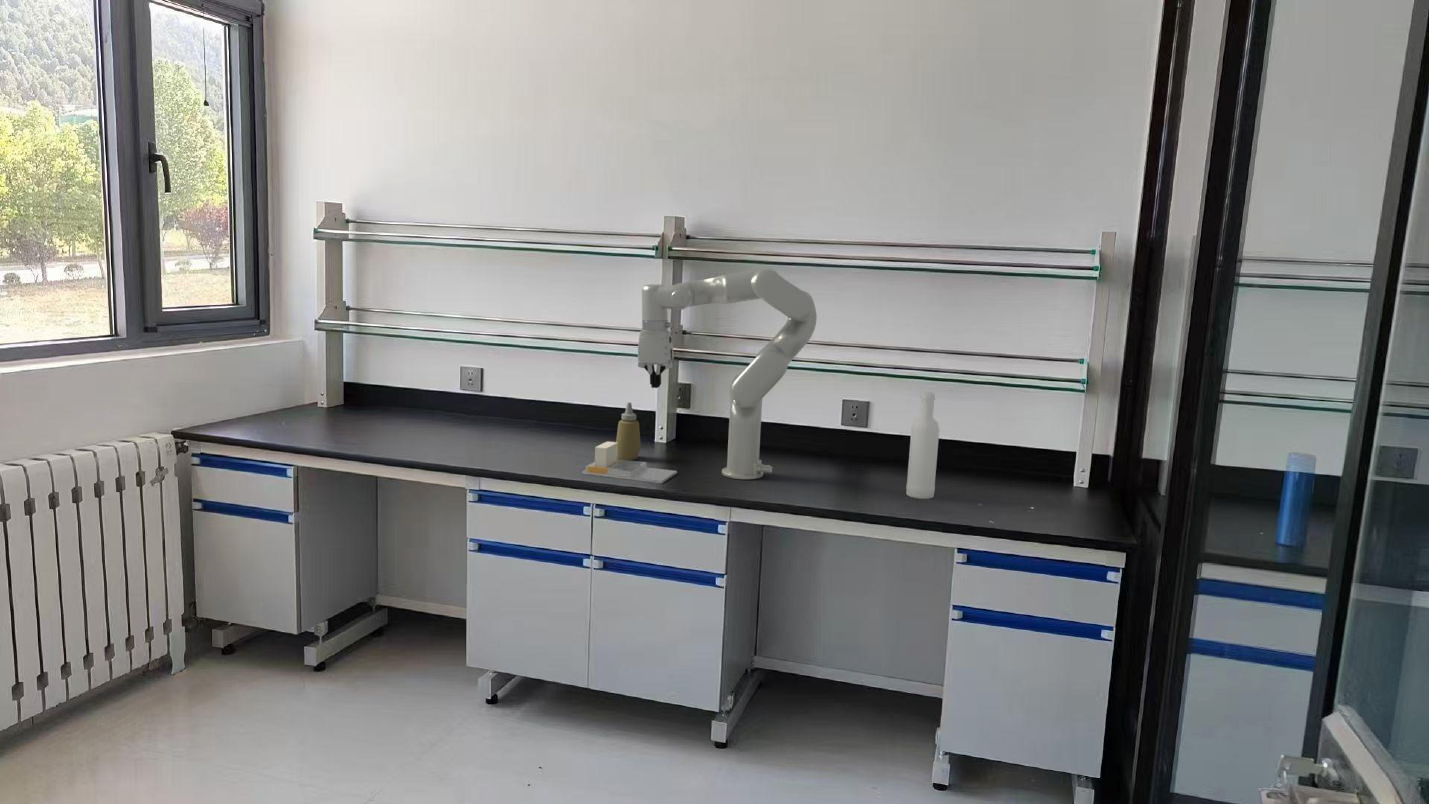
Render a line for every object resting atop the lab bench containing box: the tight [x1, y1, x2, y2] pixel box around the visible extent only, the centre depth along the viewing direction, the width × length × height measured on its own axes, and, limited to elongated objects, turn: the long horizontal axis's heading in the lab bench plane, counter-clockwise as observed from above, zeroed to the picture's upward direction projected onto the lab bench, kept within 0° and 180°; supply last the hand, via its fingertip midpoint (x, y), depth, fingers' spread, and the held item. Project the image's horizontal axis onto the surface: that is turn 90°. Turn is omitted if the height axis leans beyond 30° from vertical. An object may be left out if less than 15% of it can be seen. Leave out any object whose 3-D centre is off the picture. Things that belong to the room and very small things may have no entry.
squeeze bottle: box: [615, 402, 642, 461], centre depth 303 cm, size 8×8×18 cm
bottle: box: [905, 391, 940, 500], centre depth 272 cm, size 8×8×30 cm
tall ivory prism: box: [594, 440, 618, 468], centre depth 287 cm, size 4×9×7 cm, turn 164°
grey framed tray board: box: [582, 458, 678, 484], centre depth 285 cm, size 25×13×2 cm, turn 73°
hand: (655, 387), depth 287 cm, fingers closed
